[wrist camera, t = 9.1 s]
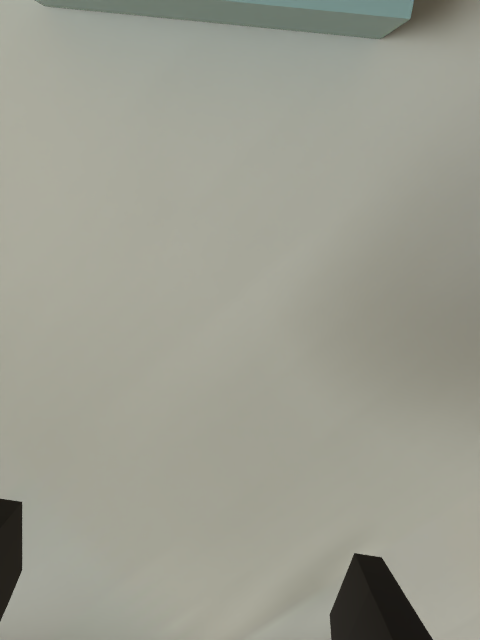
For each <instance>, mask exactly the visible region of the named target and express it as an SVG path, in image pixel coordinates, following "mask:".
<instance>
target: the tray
mask: <svg viewBox="0 0 480 640" xmlns="http://www.w3.org/2000/svg"><path fill="white" fill-rule="evenodd" d="M35 1H37V2H38V3H40V4H42V5H44V6H49V7H59V8H69V9H79V10H89V11H100V12H110V13H120V14H130V15H140V16H151V17H161V18H171V19H181V20H191V21H202V22H212V23H222V24H232V25H242V26H252V27H263V28H273V29H283V30H293V31H303V32H314V33H324V34H334V35H344V36H354V37H364V38H375V39H381V38H383V37H384V36H386V35H387V34H389V33H390V32H392V31H393V30H395V29H396V28H398V27H399V26H401V25H402V24H404V23H405V22H407V21H408V20H410V18H411V13H412V8H413V3H414V0H35Z"/></svg>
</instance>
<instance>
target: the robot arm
mask: <svg viewBox="0 0 480 640" xmlns="http://www.w3.org/2000/svg"><path fill="white" fill-rule="evenodd" d="M21 571H22V502H18V501H12V500H5V499H0V621H1V618H2V616H3V614H4V612H5V609H6V607H7V605H8V602H9V600H10V598H11V595H12V593H13V590H14V588H15V586H16V583H17V581H18V578H19V576H20V574H21ZM330 624H331V638H332V640H433V639H432V637H431V636H430V634H429V633H428V631H427V630H426V628H425V626H424V625H423V623H422V622H421V620H420V618H419V617H418V615H417V614H416V612H415V610H414V609H413V607H412V606H411V604H410V602H409V601H408V599H407V598H406V596H405V594H404V593H403V591H402V589H401V588H400V586H399V585H398V583H397V581H396V580H395V578H394V576H393V575H392V573H391V572H390V570H389V568H388V567H387V565H386V564H385V562H384V560H383V559H382V557H375V556H369V555H362V554H356V553H354V556H353V558H352V561H351V563H350V566H349V568H348V571H347V573H346V576H345V578H344V581H343V583H342V586H341V588H340V591H339V593H338V596H337V598H336V601H335V603H334V605H333V608H332V610H331V613H330Z"/></svg>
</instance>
